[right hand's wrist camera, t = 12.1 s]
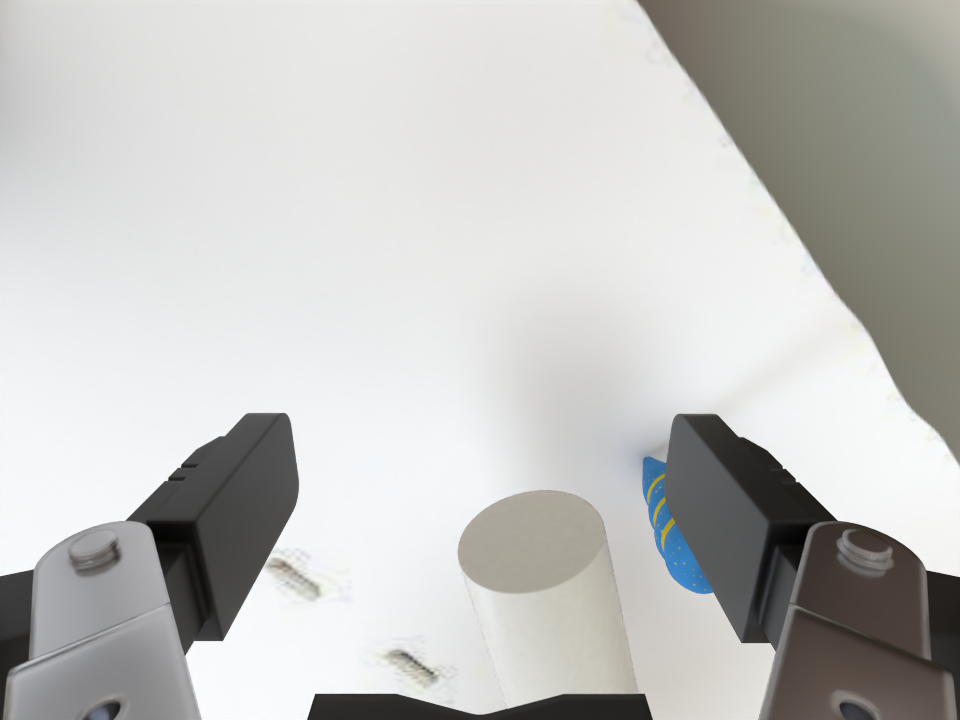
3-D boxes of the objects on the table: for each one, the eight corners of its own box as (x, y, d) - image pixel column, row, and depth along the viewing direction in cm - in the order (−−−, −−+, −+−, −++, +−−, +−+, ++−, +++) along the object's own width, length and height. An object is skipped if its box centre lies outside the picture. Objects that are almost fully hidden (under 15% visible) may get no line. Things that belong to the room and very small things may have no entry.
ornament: (605, 461, 44) (663, 598, 30) (648, 419, 43) (730, 542, 29) (648, 494, 46) (723, 640, 32) (691, 454, 44) (790, 588, 30)
